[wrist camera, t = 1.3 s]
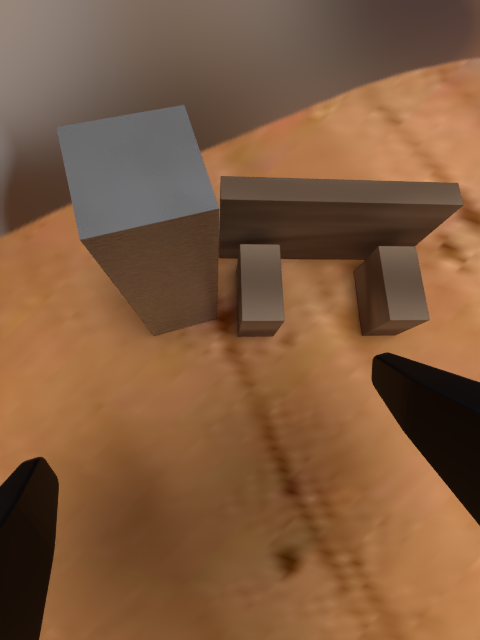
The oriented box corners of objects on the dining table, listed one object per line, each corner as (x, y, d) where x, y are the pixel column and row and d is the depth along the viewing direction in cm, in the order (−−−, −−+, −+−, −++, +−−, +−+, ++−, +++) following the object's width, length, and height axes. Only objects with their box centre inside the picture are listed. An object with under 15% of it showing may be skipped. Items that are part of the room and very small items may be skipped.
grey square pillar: (216, 318, 23) (218, 208, 11) (154, 336, 23) (80, 239, 10) (199, 262, 24) (184, 104, 12) (139, 277, 24) (56, 127, 11)
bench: (411, 335, 24) (487, 304, 17) (220, 336, 23) (222, 304, 16) (395, 242, 26) (458, 183, 19) (219, 240, 25) (220, 176, 18)
